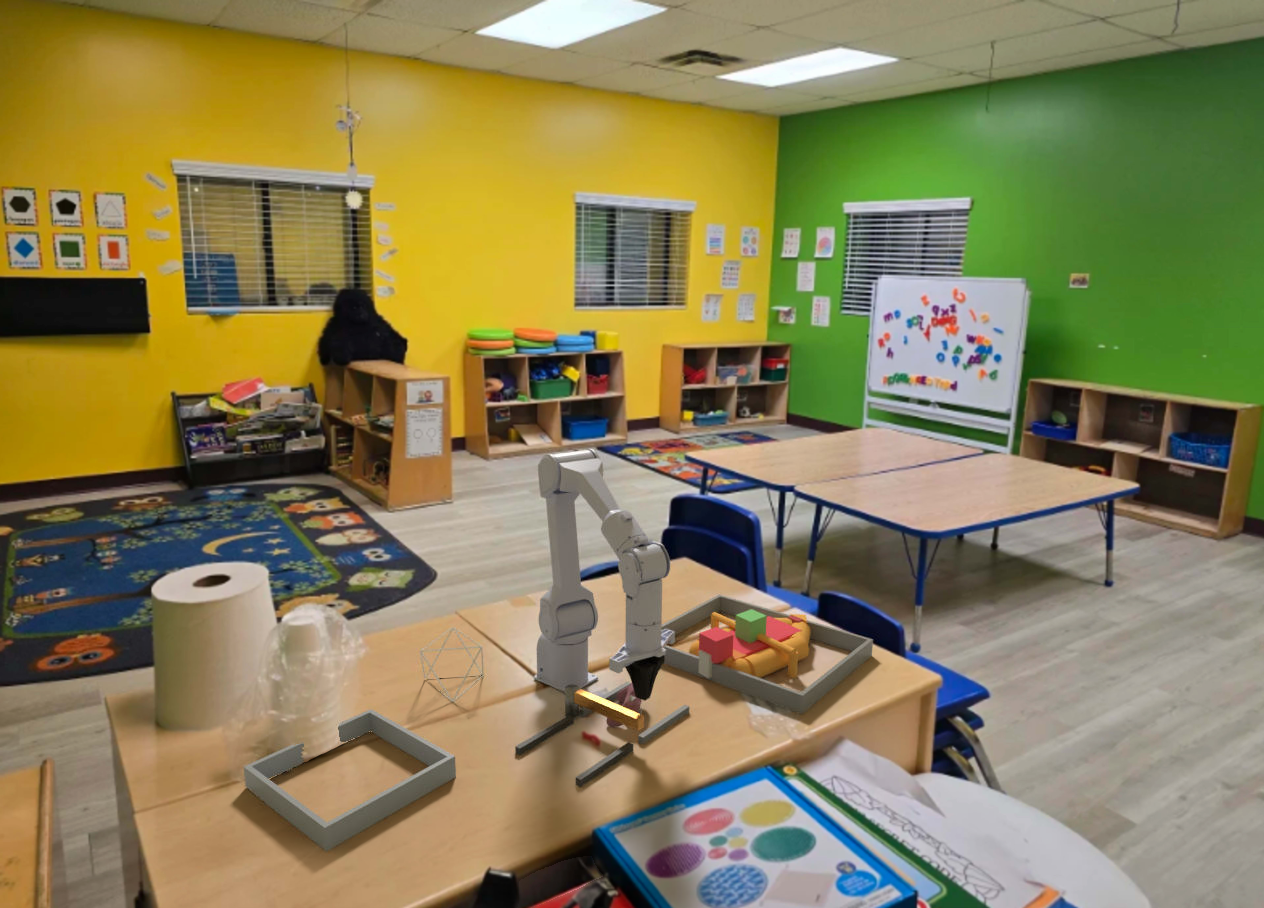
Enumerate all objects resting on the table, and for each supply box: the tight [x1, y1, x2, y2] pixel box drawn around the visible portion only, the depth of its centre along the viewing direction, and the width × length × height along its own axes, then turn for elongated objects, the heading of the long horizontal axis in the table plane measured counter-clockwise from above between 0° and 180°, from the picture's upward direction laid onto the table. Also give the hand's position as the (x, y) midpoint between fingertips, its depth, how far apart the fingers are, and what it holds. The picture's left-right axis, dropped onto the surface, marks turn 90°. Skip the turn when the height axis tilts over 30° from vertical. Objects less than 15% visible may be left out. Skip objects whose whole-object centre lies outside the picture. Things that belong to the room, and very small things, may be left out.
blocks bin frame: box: [661, 594, 874, 715], centre depth 168 cm, size 37×30×4 cm
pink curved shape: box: [605, 682, 643, 728], centre depth 145 cm, size 10×5×7 cm, turn 169°
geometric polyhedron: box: [419, 626, 485, 703], centre depth 154 cm, size 12×11×9 cm
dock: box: [514, 681, 690, 788], centre depth 140 cm, size 14×28×1 cm, turn 141°
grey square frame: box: [243, 708, 457, 852], centre depth 125 cm, size 22×22×4 cm
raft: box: [688, 609, 811, 679], centre depth 167 cm, size 23×30×9 cm
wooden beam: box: [564, 684, 645, 732], centre depth 139 cm, size 16×2×5 cm, turn 51°
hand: (642, 697), depth 136 cm, fingers closed
